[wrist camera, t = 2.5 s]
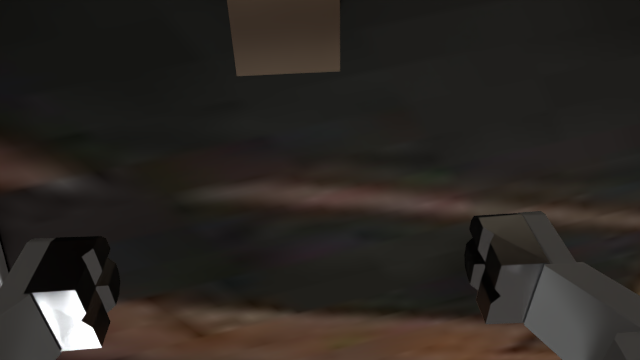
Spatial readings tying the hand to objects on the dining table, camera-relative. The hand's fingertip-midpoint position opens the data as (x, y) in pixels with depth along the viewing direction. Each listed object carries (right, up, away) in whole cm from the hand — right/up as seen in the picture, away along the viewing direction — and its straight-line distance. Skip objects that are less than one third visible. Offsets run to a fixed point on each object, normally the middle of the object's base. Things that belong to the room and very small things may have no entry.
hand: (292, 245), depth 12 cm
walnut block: (-1, +12, +17) cm, 21 cm away
